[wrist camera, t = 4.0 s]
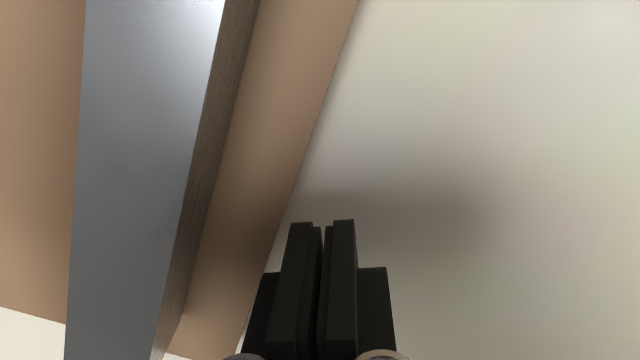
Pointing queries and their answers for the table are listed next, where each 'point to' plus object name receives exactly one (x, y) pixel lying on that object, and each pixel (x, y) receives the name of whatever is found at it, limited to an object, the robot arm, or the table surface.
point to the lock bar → (147, 165)
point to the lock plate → (232, 177)
